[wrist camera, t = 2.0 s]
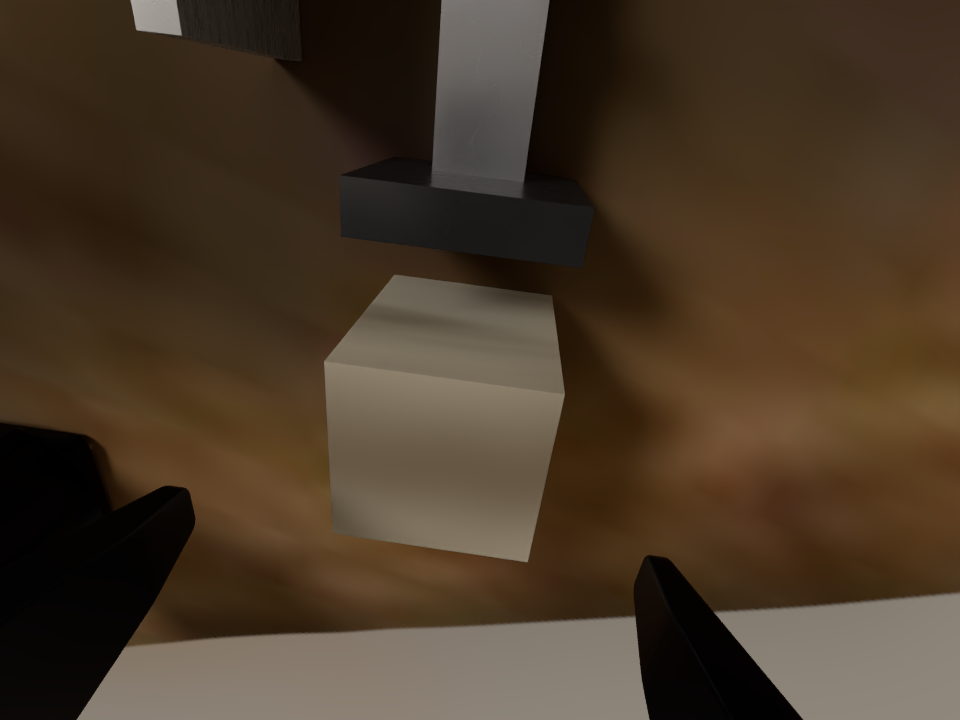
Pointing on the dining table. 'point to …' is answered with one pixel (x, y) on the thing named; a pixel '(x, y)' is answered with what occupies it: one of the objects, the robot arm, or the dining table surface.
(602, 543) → the dining table surface
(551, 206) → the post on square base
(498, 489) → the block
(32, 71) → the dining table surface
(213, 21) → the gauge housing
